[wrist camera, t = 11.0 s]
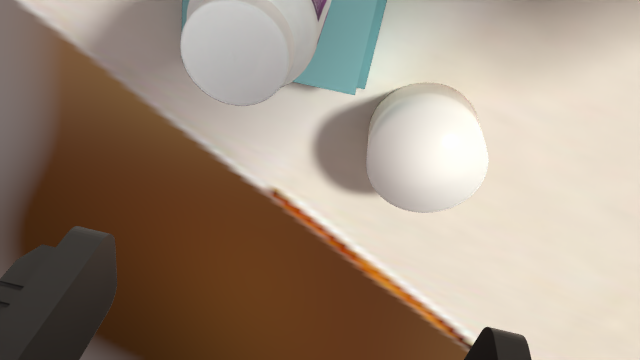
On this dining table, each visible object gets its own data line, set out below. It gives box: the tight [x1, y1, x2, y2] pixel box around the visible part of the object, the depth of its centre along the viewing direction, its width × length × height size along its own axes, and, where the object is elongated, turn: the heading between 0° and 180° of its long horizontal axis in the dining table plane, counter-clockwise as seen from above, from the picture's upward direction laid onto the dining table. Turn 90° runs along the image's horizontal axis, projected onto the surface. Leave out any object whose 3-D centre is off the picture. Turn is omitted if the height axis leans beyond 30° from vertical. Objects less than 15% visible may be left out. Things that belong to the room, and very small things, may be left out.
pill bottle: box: [180, 0, 332, 106], centre depth 22 cm, size 5×5×10 cm
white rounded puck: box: [366, 83, 488, 213], centre depth 32 cm, size 7×7×4 cm
